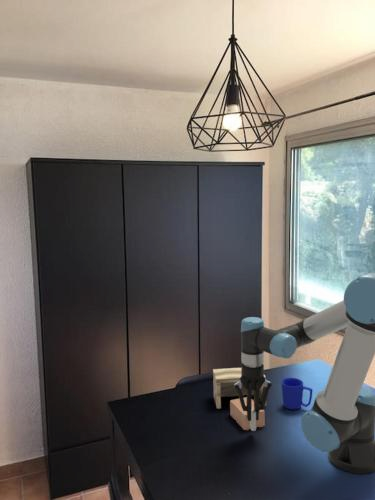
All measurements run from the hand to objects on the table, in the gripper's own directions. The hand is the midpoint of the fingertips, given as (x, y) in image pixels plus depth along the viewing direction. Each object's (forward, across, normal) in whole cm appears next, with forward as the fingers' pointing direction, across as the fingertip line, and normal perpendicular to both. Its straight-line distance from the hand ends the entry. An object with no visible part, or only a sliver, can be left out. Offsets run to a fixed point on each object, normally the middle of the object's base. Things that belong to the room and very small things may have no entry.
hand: (252, 428), depth 151 cm
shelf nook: (+3, 0, -25) cm, 25 cm away
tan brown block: (+3, 0, -10) cm, 11 cm away
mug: (+3, -21, -17) cm, 27 cm away
